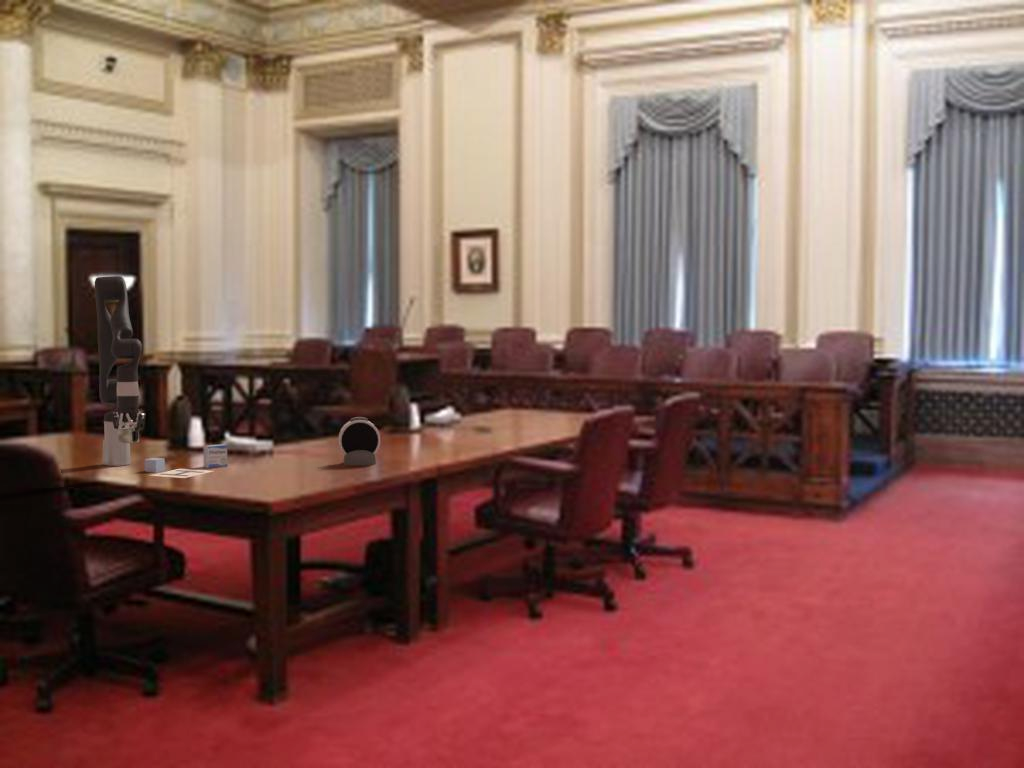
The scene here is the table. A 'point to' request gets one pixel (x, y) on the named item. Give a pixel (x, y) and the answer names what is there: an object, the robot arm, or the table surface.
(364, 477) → the table surface
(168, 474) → the letter sheet
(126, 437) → the block
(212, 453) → the medicine box
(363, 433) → the alarm clock
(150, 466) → the blue cube
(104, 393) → the robot arm
